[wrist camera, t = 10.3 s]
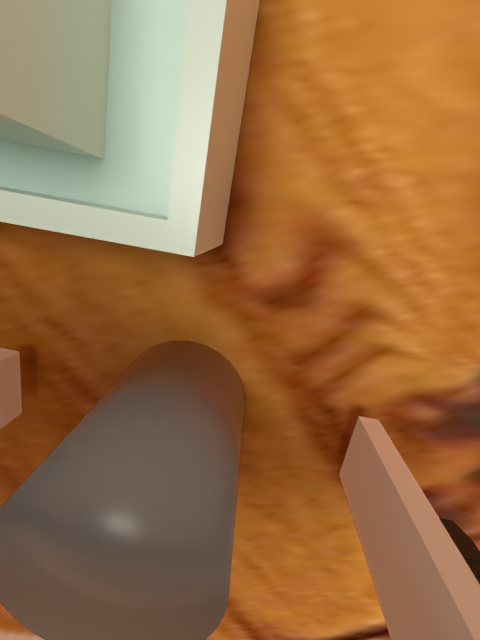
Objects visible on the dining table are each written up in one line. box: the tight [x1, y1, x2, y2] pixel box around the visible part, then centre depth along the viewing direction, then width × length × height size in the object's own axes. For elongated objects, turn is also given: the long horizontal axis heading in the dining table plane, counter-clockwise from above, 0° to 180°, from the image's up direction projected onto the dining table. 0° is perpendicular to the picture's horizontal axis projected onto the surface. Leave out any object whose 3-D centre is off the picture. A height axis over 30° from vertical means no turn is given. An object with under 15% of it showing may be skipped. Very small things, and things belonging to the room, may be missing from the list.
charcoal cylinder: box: [0, 341, 245, 640], centre depth 9 cm, size 5×5×7 cm
